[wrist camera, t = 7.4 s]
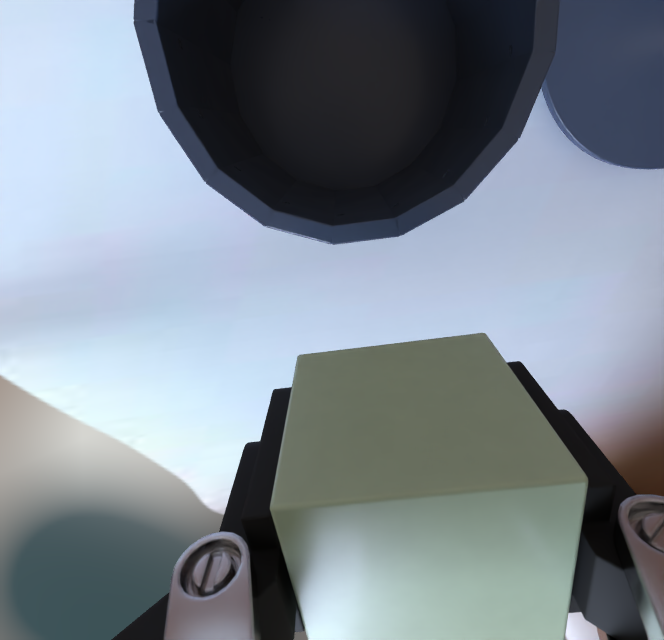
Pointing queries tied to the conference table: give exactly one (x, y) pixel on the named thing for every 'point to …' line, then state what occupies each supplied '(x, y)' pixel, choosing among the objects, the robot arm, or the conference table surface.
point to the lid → (610, 80)
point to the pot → (346, 102)
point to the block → (425, 497)
